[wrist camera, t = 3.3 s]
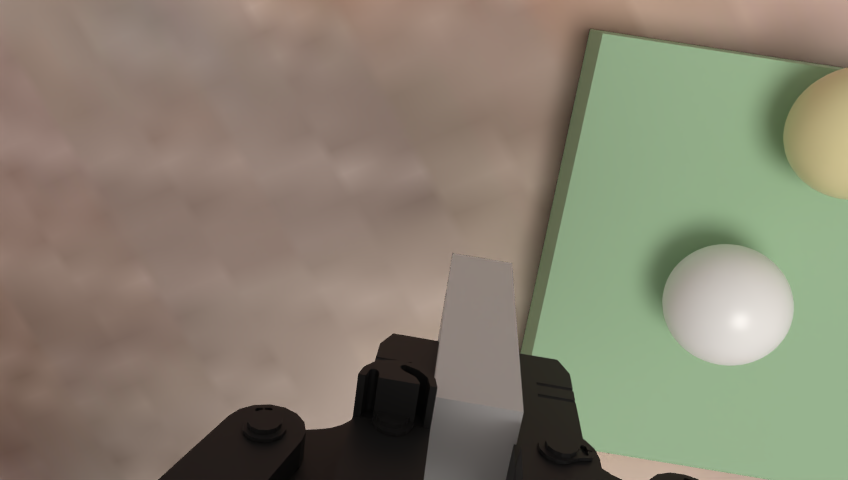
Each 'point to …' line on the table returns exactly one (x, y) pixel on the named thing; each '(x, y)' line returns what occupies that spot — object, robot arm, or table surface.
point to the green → (673, 241)
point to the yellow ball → (820, 135)
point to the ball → (728, 304)
